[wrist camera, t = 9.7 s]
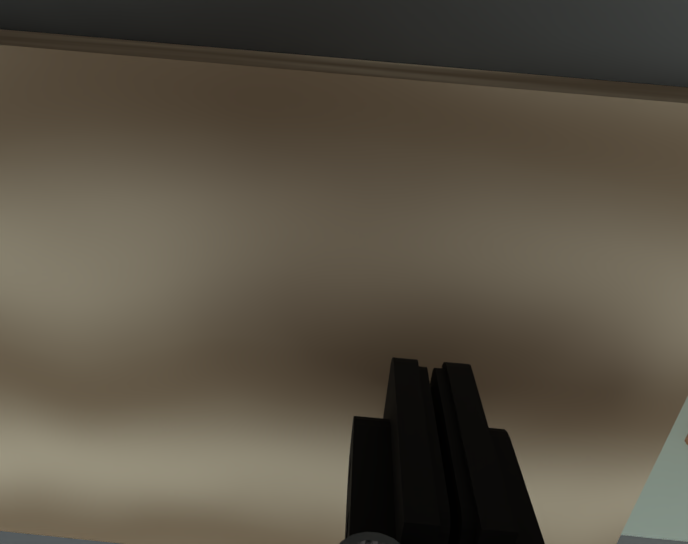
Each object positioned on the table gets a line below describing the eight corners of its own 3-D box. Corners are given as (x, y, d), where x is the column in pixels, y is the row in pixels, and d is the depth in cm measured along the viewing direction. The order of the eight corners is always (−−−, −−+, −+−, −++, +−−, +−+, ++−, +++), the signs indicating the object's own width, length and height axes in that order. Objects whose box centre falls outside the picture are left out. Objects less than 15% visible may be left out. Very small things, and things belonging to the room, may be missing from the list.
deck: (-89, 21, 13) (-266, 22, 9) (696, 88, 13) (823, 114, 9) (24, 431, 19) (-57, 525, 16) (552, 483, 19) (593, 591, 15)
